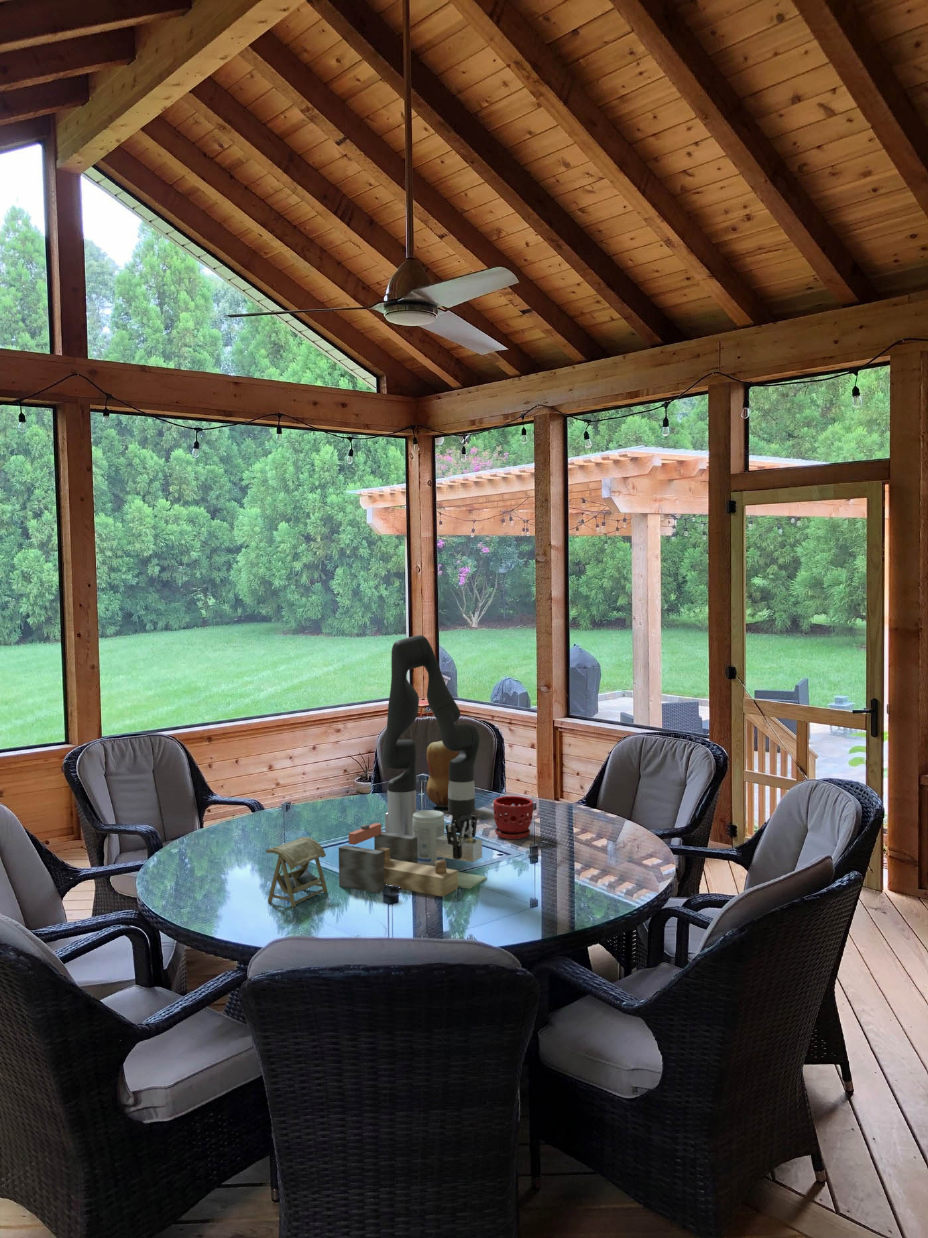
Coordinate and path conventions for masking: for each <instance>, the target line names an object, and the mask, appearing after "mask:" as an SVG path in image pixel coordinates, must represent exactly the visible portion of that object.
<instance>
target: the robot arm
mask: <svg viewBox="0 0 928 1238" xmlns="http://www.w3.org/2000/svg"><path fill="white" fill-rule="evenodd" d="M434 652H435V651H434V649H433V647H432V646H431V644H430V642H429V640H428V638H427V637H425V635H422V634H419V635H414V636H410V637H405V638H401V639H398V640H396V641H395V642H393V644H392V647H391V654H390V655H391V661H390V662H391V663H390V664H391V671H390V672H391V675H390V677H391V678H390V680H391V681H390V691H389V698H388V704H387V705H388V706H387V719H386V720H387V721H386V729H385V730H386V731H385V735H384V741H383V745H382V752H381V758H382V759H381V761H382V764H383V766H384V768H385V769H389V770H404V771H403V772H402V773H401V774H399V775H398V776H396V777H393V778H391V779H389V780H388V781H387V785H386V786H387V789H386V791H387V794H386V795H387V797H386V798H387V799H386V800H387V812H385V814H384V832H390V833H397V834H403V835H410V836H413V814H414V813H415V812H417V760H418V759H417V757H418V756H417V753H418V752H417V744H416V742H415V740H413V739H400V738H401V736H402V735H403V734H404V733H405V732H406V730H408V729H409V728H410V727H411V726H412V724H414V722H415V720H416V719H417V716H418V711H419V705H420V698H419V695H418V693H417V691H416V689H415V688H414V686H413V685H412V684H411V683H410V681H409V680H408V679H407V677H408V675H407V674H408V673H409V672H408V671H410V670H413V669H416V668H417V669H418V668H421V667H424V668H425V670H426V672H427V675H428V681H427V690H426V700H427V704H428V706H429V708H430V710H431V712H432V714H433V715H434V717H435V719H436V721H437V725H438V728H439V735H440V738H441V741H442V742H443V744H444V746H445V747H446V748H447V749H448V750H450V751H458V754H459V755H458V756H457V757H456V758H454V759H452V760H451V761H450V762H449V785H448V808H447V809H448V810H447V811H448V813H449V814H450V815H451V817H452V818H451V823H450V824H449V823H446V824H445V831H446V832H445V833H446V835H447V840H448V844H450V845H452V846H453V858H454V859H453V860H456V859H460V858H461V846H460V845H461V840H462V838H463V837H465V838H467V837H472V838H475V837H476V833H477V825H478V824H477V823H478V816H477V815H474V813H475V812H476V793H475V792H476V787H475V770H474V769H475V768H474V767H475V763H476V758H477V754H478V750H479V746H480V733H479V730H478V728H477V727H476V725H473V724H472V723H467V724H466V723H465V724H458V725H456V724H455V723H456V722H457V721H458V720H459V719H460V717H461V709H459V708H460V707H459V706H458V704H457V703H456V701H455V699H454V697H453V696H452V693H451V692H450V690H449V688H448V687H447V684H446V682H445V679H444V676H443V674H442V671H441V668H440V666H439V663H438V660H437V658H436V655H435V653H434ZM451 837H452V840H451ZM457 837H458V841H457Z"/></svg>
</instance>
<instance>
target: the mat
mask: <svg viewBox="0 0 928 1238" xmlns="http://www.w3.org/2000/svg"><path fill="white" fill-rule="evenodd" d="M487 878H488V877H487V876H484V875H478V874H473V873H467V872H461V871H458V888H463V889H469V890H470V889H471V888H474V887H475V886H477V885H479V884H480V883H482V882H484V881H486V880H487Z"/></svg>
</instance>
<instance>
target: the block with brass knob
mask: <svg viewBox="0 0 928 1238" xmlns="http://www.w3.org/2000/svg"><path fill="white" fill-rule="evenodd" d="M451 840H452V837H451ZM457 841H458V837H457ZM460 846H461V858H460V859H454V858H453V846H452V845H450V844H448V840H447V834H445V835H443V836H441V837H439V838H437V839H436V856H437V857H444V858H445V859H451V860H457V861H464V862H469V863H475V862H476V861H479V860H480V859H482V858H483V840H482V839H477V838H474V837H467V838H465V837H463V838H462V840H461V845H460Z"/></svg>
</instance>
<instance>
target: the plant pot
mask: <svg viewBox="0 0 928 1238" xmlns="http://www.w3.org/2000/svg"><path fill="white" fill-rule="evenodd" d="M492 808H493V820H494V823H495V825H496V827H495V829H494V832H495V834H496V836H498V837H499V838H502V839H507V840H520V839H524V838H527V837H528V836H529V835H530V834H531V830H530V829H529V828H530V826H531V824H532V821H533V815H534V814H533V813H534V801H533V800H532V799H530V798H529V797H528V798H527V797H523V796H516V795H514V796H512V795H510V796H509V795H506V796H500V797H497V798H495V799H493V806H492Z"/></svg>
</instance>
